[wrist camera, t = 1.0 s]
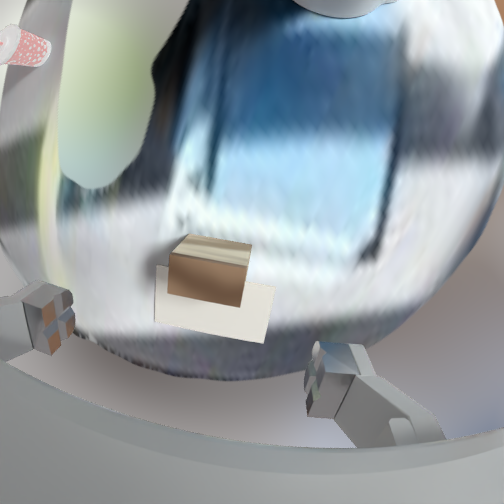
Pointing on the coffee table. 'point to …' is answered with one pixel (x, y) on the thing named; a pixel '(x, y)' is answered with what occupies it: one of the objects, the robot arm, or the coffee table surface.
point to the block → (209, 270)
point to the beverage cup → (22, 47)
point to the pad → (216, 311)
